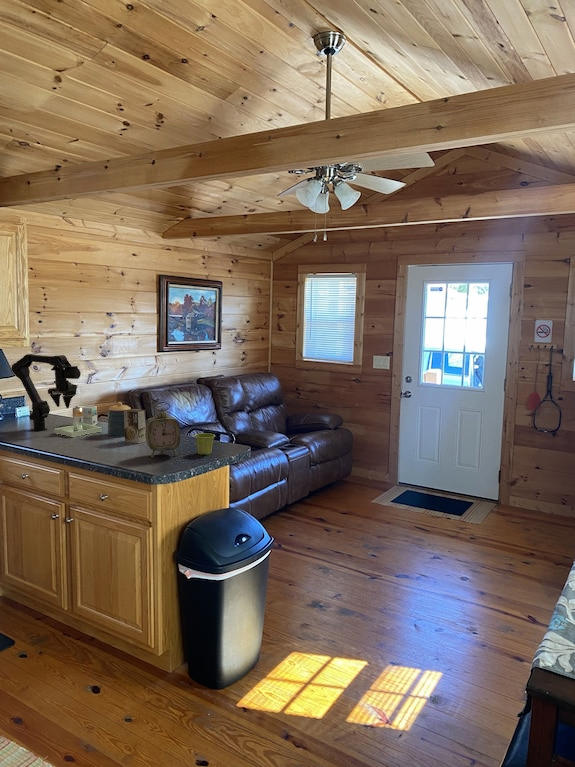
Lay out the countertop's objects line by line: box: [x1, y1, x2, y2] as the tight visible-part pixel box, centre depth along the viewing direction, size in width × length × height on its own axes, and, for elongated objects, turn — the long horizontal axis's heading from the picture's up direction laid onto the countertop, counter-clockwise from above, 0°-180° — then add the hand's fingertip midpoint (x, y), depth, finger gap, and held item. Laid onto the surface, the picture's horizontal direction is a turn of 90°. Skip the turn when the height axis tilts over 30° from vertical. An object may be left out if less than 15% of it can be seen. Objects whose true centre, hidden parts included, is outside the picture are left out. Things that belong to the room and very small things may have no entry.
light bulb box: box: [79, 405, 98, 426], centre depth 330 cm, size 11×7×11 cm, turn 84°
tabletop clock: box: [145, 401, 181, 459], centre depth 263 cm, size 14×9×25 cm, turn 114°
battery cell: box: [72, 405, 83, 432], centre depth 309 cm, size 5×5×14 cm
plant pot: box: [194, 432, 216, 456], centre depth 269 cm, size 9×9×9 cm
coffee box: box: [124, 408, 147, 444], centre depth 291 cm, size 9×6×16 cm
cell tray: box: [54, 424, 103, 438], centre depth 309 cm, size 16×18×3 cm
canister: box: [106, 401, 132, 438], centre depth 306 cm, size 13×13×18 cm
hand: (62, 407), depth 311 cm, fingers open, 9 cm apart
